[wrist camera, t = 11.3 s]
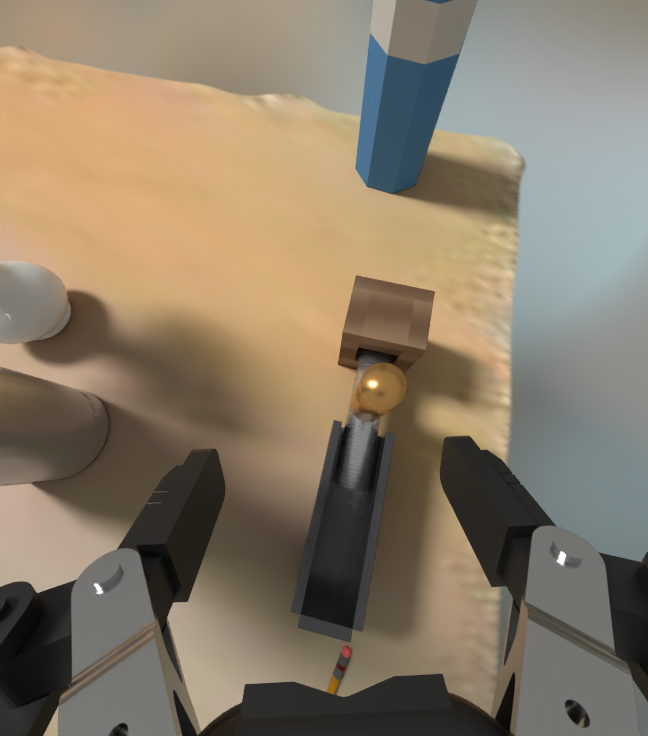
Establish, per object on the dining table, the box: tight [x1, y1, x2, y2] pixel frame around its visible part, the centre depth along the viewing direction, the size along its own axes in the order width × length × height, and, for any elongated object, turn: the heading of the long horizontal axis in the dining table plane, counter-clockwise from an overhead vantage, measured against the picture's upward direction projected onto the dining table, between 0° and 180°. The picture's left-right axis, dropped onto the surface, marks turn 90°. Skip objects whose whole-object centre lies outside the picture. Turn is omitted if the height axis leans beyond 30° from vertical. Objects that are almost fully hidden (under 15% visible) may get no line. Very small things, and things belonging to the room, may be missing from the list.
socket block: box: [338, 276, 435, 373], centre depth 30 cm, size 6×7×9 cm
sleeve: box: [291, 420, 394, 642], centre depth 26 cm, size 15×5×6 cm, turn 167°
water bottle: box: [356, 0, 478, 194], centre depth 30 cm, size 9×9×25 cm
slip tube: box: [333, 348, 408, 491], centre depth 25 cm, size 16×3×11 cm, turn 167°
